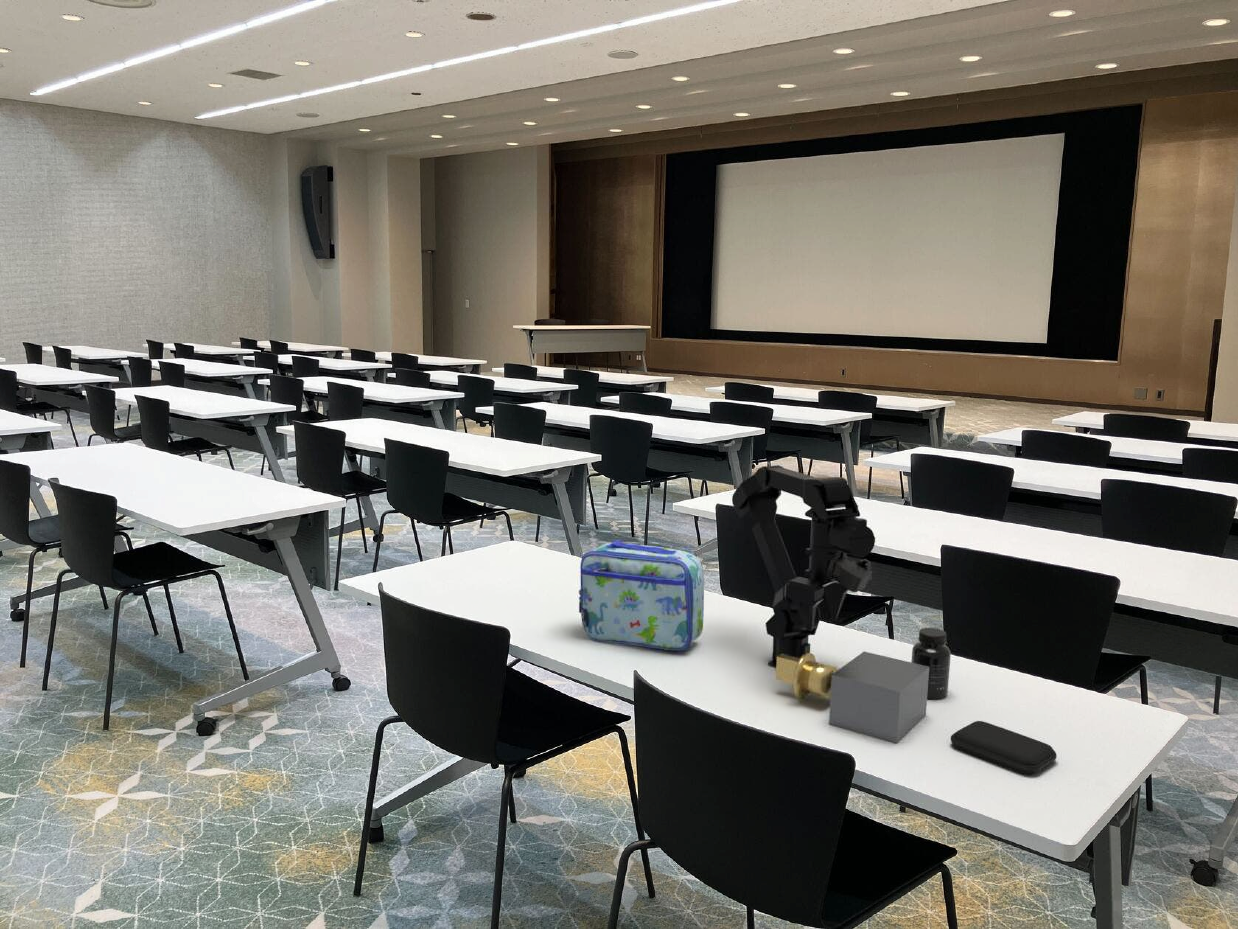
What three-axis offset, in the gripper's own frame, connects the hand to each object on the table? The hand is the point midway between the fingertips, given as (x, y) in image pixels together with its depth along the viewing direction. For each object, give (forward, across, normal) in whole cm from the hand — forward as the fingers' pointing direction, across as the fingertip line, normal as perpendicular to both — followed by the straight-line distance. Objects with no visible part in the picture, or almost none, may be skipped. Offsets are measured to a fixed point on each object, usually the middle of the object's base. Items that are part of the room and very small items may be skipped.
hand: (821, 624), depth 186 cm
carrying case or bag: (+12, -6, -37) cm, 39 cm away
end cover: (+11, -9, -2) cm, 15 cm away
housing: (+11, -8, -16) cm, 22 cm away
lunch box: (+12, -7, +39) cm, 41 cm away
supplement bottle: (+12, +9, -18) cm, 23 cm away
